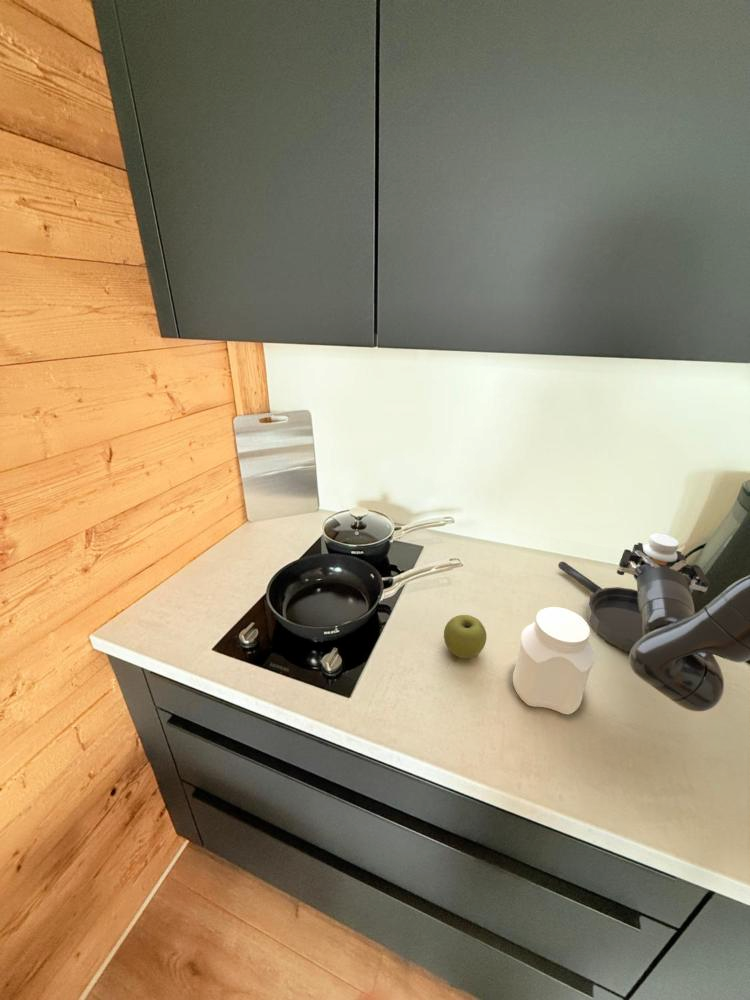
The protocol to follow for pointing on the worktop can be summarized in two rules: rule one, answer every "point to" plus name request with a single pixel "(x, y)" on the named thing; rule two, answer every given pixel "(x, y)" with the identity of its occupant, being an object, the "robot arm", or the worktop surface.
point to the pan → (616, 616)
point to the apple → (465, 636)
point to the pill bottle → (661, 549)
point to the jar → (554, 661)
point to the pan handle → (579, 577)
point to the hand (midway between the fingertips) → (657, 551)
